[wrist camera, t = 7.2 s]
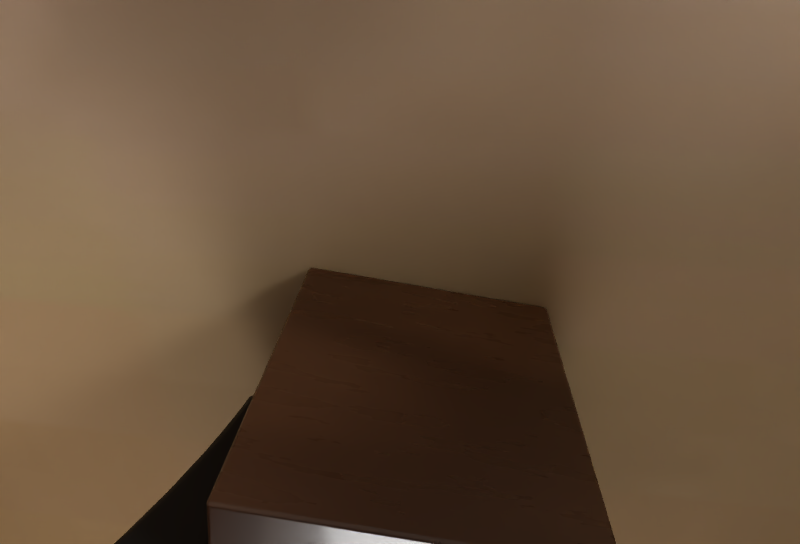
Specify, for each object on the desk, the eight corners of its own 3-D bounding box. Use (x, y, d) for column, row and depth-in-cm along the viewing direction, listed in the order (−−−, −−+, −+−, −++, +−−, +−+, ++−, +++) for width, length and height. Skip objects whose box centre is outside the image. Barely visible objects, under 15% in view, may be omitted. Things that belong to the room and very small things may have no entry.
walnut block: (292, 476, 13) (215, 734, 9) (309, 266, 10) (203, 503, 5) (473, 506, 13) (489, 777, 9) (547, 306, 10) (627, 573, 6)
